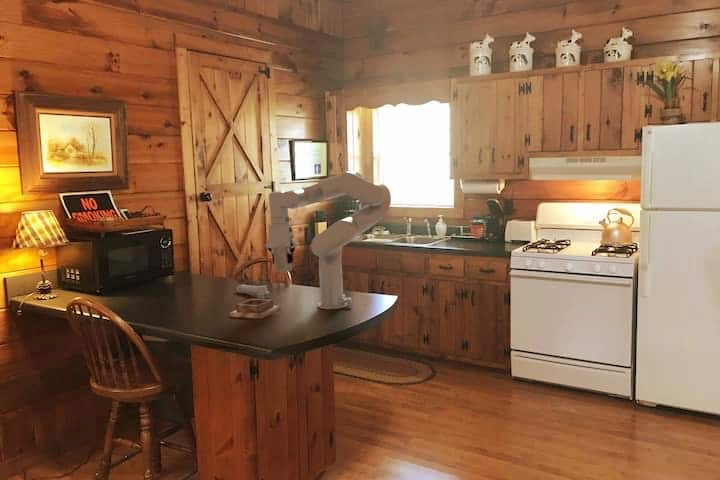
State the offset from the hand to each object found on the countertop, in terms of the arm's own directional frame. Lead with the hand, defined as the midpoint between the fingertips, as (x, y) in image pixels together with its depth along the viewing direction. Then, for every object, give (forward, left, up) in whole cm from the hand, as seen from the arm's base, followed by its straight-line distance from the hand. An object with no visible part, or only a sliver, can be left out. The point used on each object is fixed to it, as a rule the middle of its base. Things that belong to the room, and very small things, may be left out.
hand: (283, 262), depth 255 cm
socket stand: (+6, +14, -19) cm, 24 cm away
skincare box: (0, 0, -4) cm, 4 cm away
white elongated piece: (+26, -15, -19) cm, 35 cm away
